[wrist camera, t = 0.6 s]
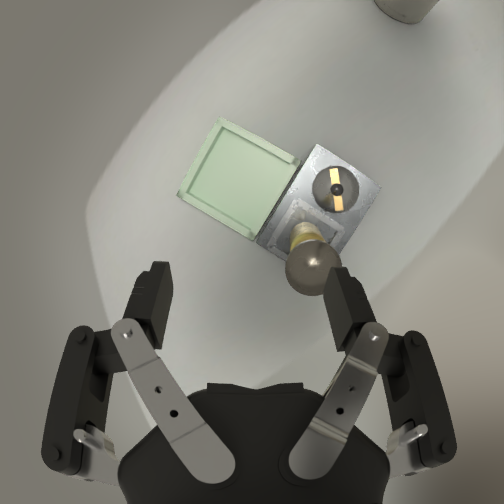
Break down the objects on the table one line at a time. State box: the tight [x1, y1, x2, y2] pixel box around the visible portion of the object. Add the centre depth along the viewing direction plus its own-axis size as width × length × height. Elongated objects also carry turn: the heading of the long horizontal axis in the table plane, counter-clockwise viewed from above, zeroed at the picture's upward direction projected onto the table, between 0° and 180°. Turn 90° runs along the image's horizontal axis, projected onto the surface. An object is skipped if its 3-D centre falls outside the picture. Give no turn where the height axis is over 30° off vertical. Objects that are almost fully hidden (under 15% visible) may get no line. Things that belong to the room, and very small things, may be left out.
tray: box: [176, 117, 301, 241], centre depth 35 cm, size 12×12×2 cm
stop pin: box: [285, 222, 342, 296], centre depth 29 cm, size 5×5×13 cm
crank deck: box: [256, 144, 381, 261], centre depth 34 cm, size 15×10×3 cm, turn 150°
